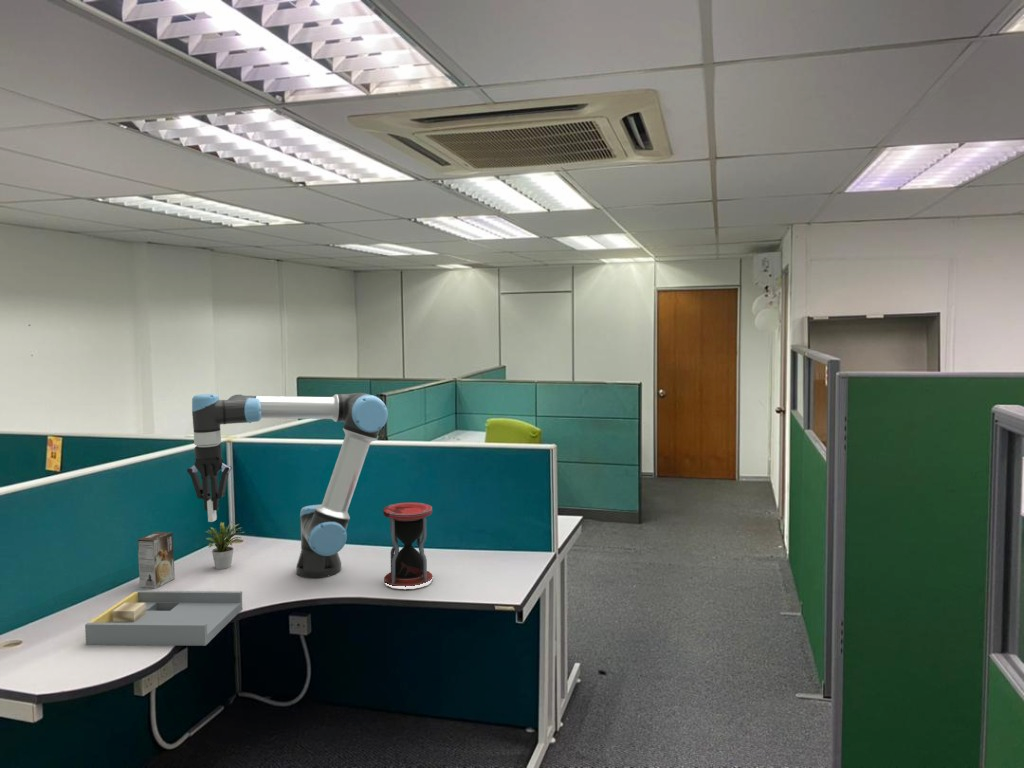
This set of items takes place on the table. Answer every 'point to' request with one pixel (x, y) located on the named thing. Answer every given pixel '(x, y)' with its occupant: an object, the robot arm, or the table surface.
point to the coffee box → (156, 559)
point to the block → (129, 612)
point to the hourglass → (408, 544)
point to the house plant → (223, 546)
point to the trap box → (168, 619)
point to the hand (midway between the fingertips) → (212, 520)
